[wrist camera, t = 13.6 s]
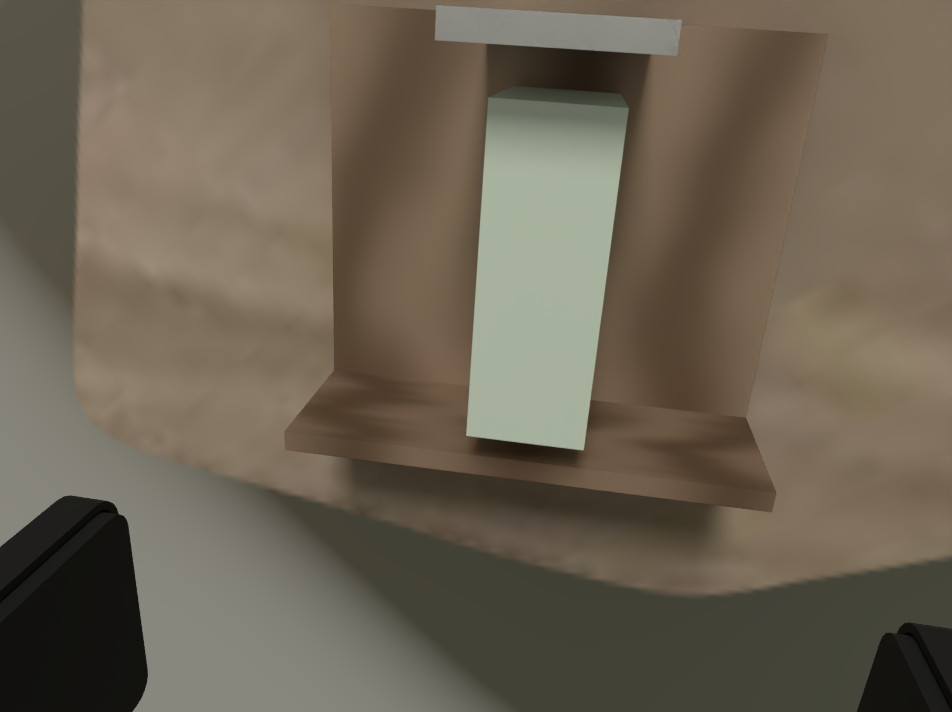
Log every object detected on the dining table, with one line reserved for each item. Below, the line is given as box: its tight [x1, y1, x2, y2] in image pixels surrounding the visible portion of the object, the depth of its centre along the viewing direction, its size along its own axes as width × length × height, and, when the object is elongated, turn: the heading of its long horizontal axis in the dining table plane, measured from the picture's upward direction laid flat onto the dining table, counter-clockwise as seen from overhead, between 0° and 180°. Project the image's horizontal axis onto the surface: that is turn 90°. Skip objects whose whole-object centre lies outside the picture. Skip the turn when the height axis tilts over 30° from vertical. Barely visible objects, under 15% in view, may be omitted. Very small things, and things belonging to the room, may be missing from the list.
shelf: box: [284, 4, 828, 512], centre depth 27 cm, size 18×16×12 cm
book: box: [466, 86, 629, 450], centre depth 27 cm, size 4×11×8 cm, turn 176°
